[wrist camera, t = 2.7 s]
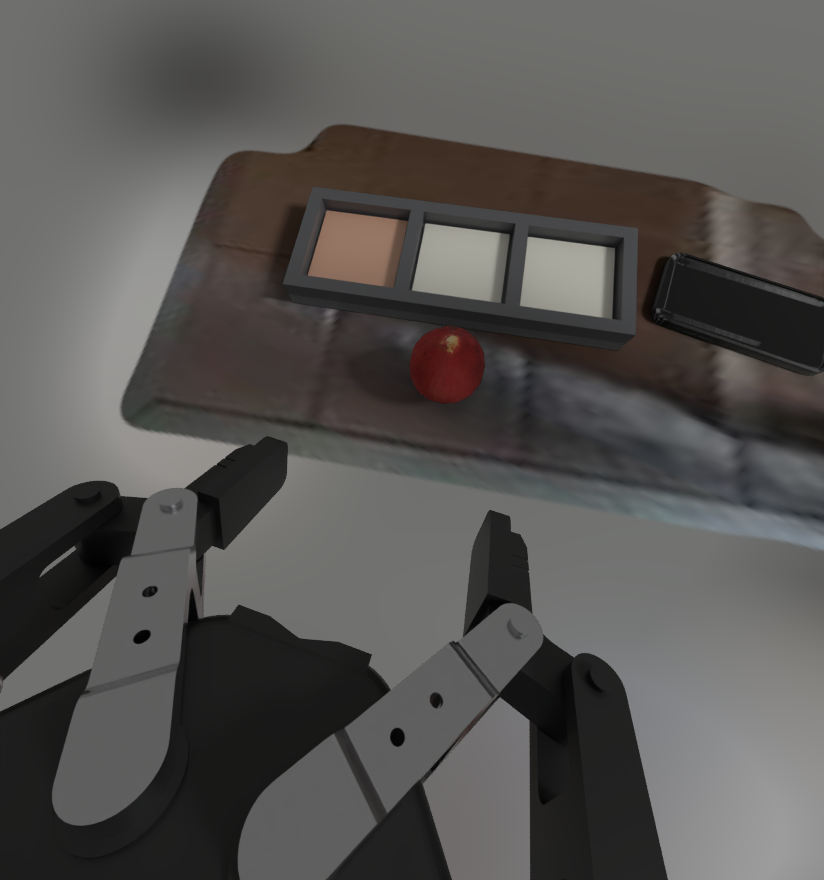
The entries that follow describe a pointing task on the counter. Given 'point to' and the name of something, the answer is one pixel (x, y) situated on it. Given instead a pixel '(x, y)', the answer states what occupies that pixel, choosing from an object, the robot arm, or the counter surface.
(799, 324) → the phone
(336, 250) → the terracotta key
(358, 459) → the counter surface
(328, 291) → the keypad
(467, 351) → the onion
